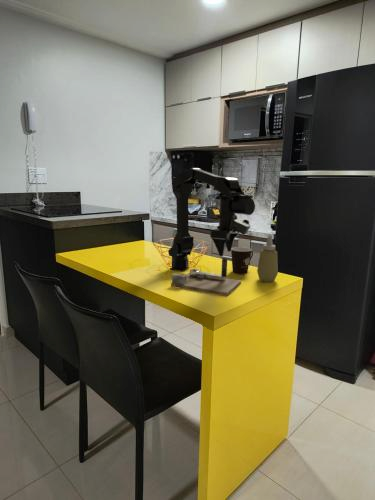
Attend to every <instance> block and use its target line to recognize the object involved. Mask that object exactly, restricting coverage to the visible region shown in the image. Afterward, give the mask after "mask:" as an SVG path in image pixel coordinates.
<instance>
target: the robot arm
mask: <svg viewBox="0 0 375 500" xmlns="http://www.w3.org/2000/svg"><path fill="white" fill-rule="evenodd" d="M198 181H200V182H202V183H203V184H206V185H208V186H209V185H210V186H211V187H213V188H214V190H215V191H217V192H219V194H218V195H217V196H216V197H215V200H219V214H217V219H218V226H216V228H214V229H212V230H211V231H210V233H209V237H210V238H211V240H212V241H213V243H214V246H215V247H216V250H217V252H218V255H219V256H220V257H223V256H224V253H225V247H226V250H227V252H229V253H230V252H231V248H233V244H234V241H235V238H236V237H238V236H239V235H240V234H241V235H246V234H248V232H249V229H251V224H250V220H249V219H247V218H245V219H243V220H239V219H238V216H237V214H238V215H246V216H251V215H252V214H254V211H255V209H256V204H255V201H254V199H253V196H252V195H251V194H247V195H245V193H244V191H243V189H242V187H241V186H240V182H239V179H238V178H236V177H229V176H219V175H217V174H213V173H212V172H209V171H206V170H203V169H201V168H199V167H190V168H188V169H187V170H185V171H184V172H182V173H180V174H179V175H177V176H175V177H174V178H173V179H172V180H171V187H172V188H171V189H172V193H173V195H174V197H175V199H176V200H175V201H176V234H175V236H174V237H173V242H172V246H171V247H170V248H169V249H168V250H167V252H168V256H169V257H171V267H170V268H169V270H171V271H178V272H185V271H187V270H188V269H190V267H189V261H190V259H189V258H188V256H190V255H191V254H192V251H193V247H194V246H195V244H194V236H192V235H191V234H190V232H189V230H190V229H189V227H190V226H189V198H190V196H191V194H192V191H193V186H195V184H197V182H198Z"/></svg>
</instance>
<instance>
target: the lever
mask: <svg viewBox="0 0 375 500" xmlns="http://www.w3.org/2000/svg"><path fill="white" fill-rule="evenodd" d="M227 271H228V257H222V258H221V273H220V274H217V273H212V272H206V271H201V270H200V269H197V268H193V269H190V270H189V273H190V276H192V277H197V278H200V279H204V278H210V279H217V280H223V281H224V280H225V279H226V278H227V274H228V273H227Z"/></svg>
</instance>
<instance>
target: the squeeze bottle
mask: <svg viewBox="0 0 375 500" xmlns="http://www.w3.org/2000/svg"><path fill="white" fill-rule="evenodd" d="M278 260H279V259H278V251H277V250H276V245H275V244H274V243H273V237H272V235H268V237H267V240H266V243H265V244H263V246H262V249H261V250H260V252H259V259H258V264H257V270H256V271H257V275H258V279H259V281H260V282H264V283H274V282H275V281H276V278H277V276H278V273H279V271H278V270H279V269H278V268H279V267H278V265H279V263H278V262H279V261H278Z"/></svg>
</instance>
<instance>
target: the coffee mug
mask: <svg viewBox="0 0 375 500" xmlns="http://www.w3.org/2000/svg"><path fill="white" fill-rule="evenodd" d="M230 252H231V265H232V266H231V267H232V273H234V274H237V275H246V274H248V272H249V266H250V261H251V260H252V258H253V255H254V251H253V250H252V249H251V248H249V247H244V246H243V247H242V246H240V247H239V246H236V247H232V248H231V251H230Z"/></svg>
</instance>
